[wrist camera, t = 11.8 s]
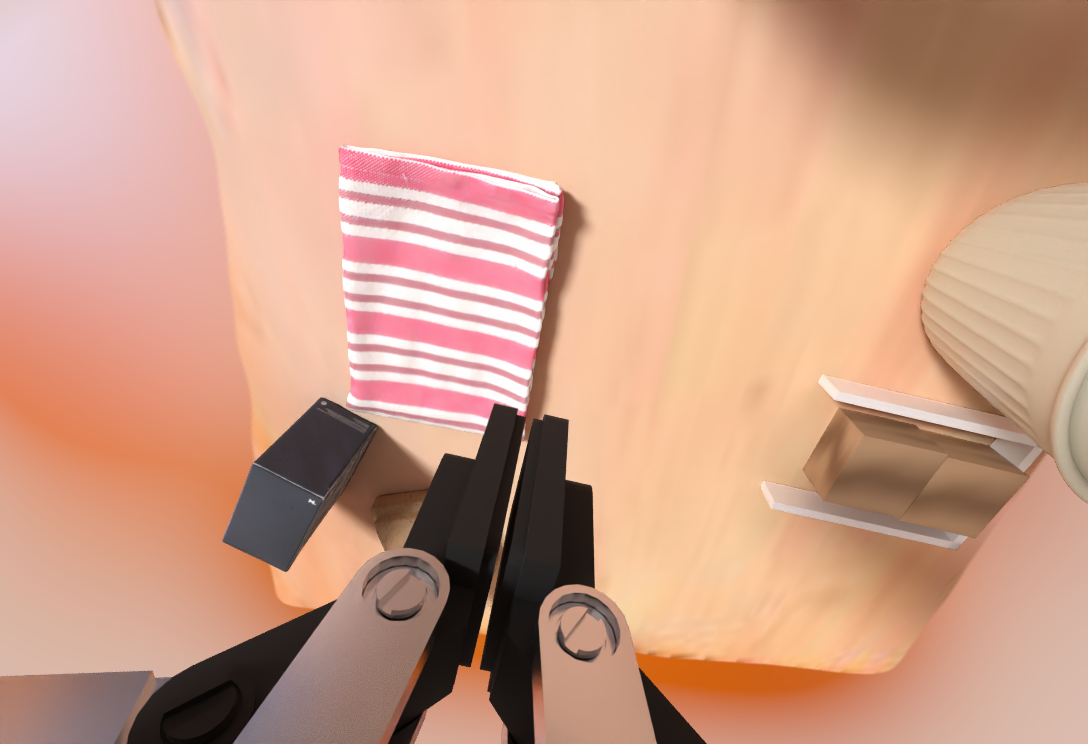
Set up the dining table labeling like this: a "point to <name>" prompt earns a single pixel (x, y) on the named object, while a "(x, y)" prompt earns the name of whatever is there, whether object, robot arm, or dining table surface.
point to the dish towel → (443, 284)
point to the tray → (1007, 434)
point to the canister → (1022, 318)
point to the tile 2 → (964, 488)
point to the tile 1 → (872, 463)
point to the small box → (297, 483)
